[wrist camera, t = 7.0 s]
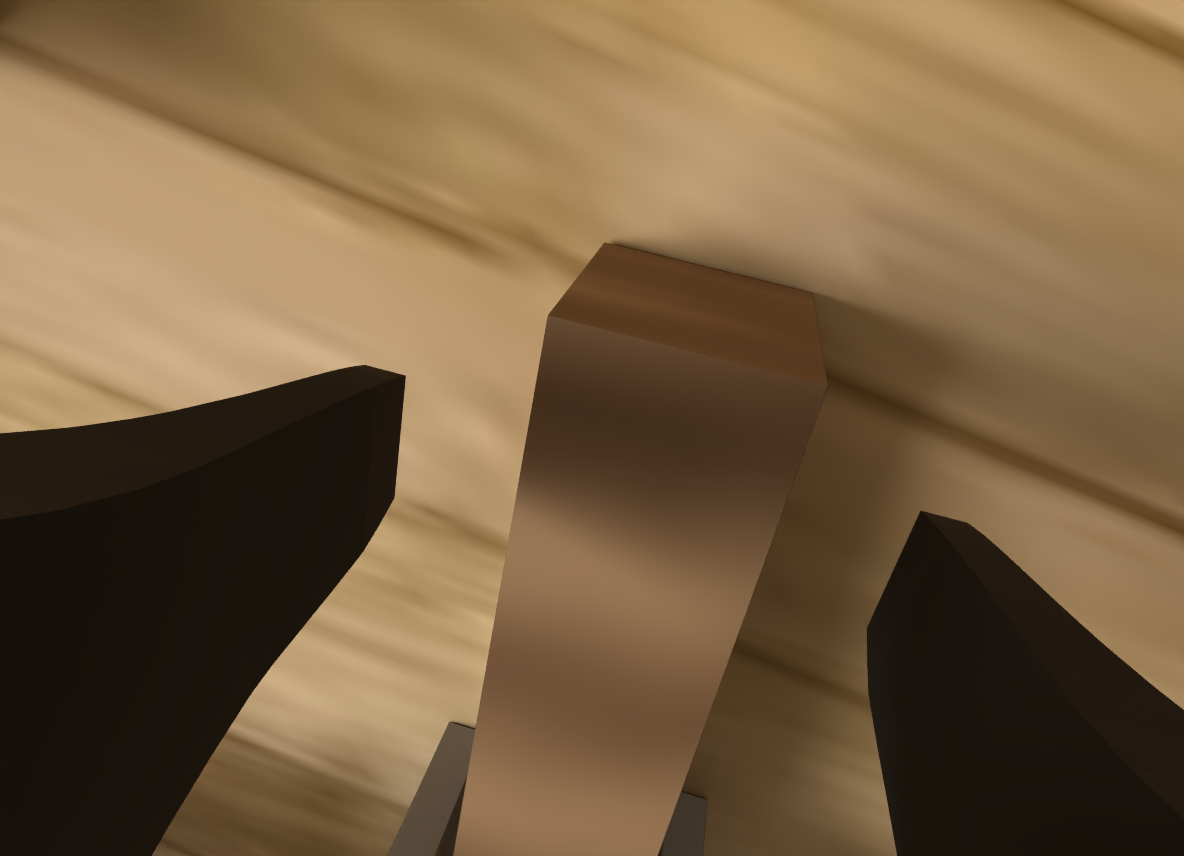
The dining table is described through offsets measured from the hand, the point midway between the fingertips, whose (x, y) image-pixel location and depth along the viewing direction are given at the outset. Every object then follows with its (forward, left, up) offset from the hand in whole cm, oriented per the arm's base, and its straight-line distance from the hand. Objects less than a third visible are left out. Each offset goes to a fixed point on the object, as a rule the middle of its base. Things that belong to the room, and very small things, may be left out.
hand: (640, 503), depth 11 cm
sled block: (-4, -4, -6) cm, 8 cm away
